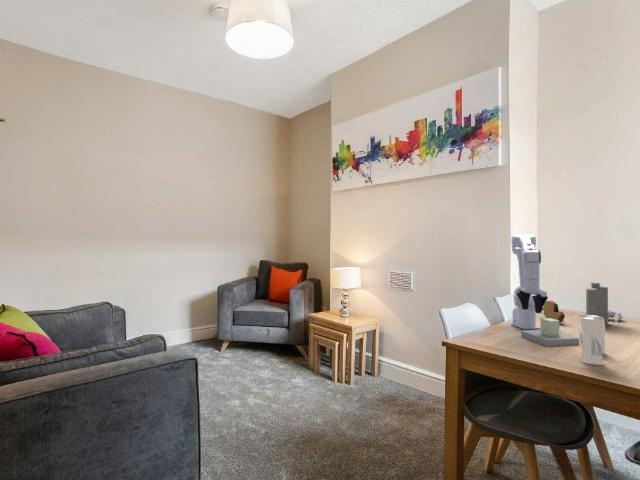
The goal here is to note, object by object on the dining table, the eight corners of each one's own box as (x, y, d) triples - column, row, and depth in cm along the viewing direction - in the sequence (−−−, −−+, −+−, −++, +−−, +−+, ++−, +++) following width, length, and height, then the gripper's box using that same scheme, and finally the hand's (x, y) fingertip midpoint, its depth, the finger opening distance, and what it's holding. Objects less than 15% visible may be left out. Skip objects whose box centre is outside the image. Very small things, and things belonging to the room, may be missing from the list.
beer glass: (573, 359, 124) (573, 315, 124) (593, 358, 124) (592, 314, 124) (590, 366, 117) (590, 319, 117) (610, 365, 117) (610, 319, 117)
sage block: (540, 333, 148) (540, 318, 148) (549, 332, 149) (549, 318, 148) (549, 336, 143) (549, 321, 143) (559, 335, 144) (559, 320, 144)
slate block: (521, 337, 152) (521, 330, 152) (550, 336, 154) (550, 329, 154) (546, 348, 138) (546, 340, 138) (579, 345, 140) (579, 338, 140)
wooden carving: (569, 325, 170) (568, 303, 170) (559, 325, 170) (559, 304, 170) (547, 317, 186) (547, 298, 186) (538, 317, 186) (538, 298, 186)
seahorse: (601, 323, 168) (628, 313, 175) (577, 311, 178) (603, 302, 185) (598, 333, 170) (625, 322, 177) (574, 319, 180) (600, 310, 187)
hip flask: (593, 328, 163) (592, 284, 163) (582, 327, 166) (582, 283, 166) (609, 324, 171) (609, 281, 171) (599, 322, 174) (598, 281, 174)
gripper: (511, 277, 159) (511, 308, 159) (535, 281, 145) (536, 315, 145) (525, 276, 160) (525, 307, 160) (551, 280, 146) (551, 314, 146)
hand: (531, 311), depth 153 cm, fingers open, 7 cm apart
